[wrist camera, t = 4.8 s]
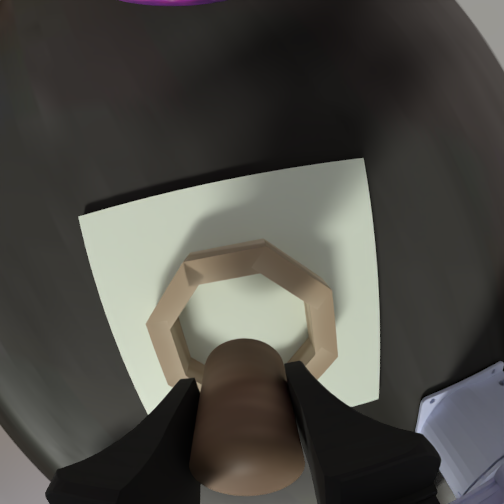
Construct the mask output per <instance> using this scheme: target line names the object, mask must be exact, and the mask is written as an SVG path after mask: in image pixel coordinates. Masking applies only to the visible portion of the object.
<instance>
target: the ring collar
mask: <svg viewBox="0 0 504 504" xmlns="http://www.w3.org/2000/svg"><path fill="white" fill-rule="evenodd" d="M259 273H261V274H262V275H264V276H265V277H267V278H268V279H270V280H271V281H273V282H275V283H276V284H278V285H279V286H281V287H282V288H284V289H285V290H287V291H288V292H290V293H292V294H293V295H295V296H296V297H298V298H299V299H301V300H303V301H304V308H305V315H306V322H307V329H308V338H307V339H306V340H305V342H304V343H303V344H302V345H301V347H300V348H299V349H298V350H297V351H296V353H295V354H294V355H293V356H292V357H291V358H290V360H289V361H288V362H287V363H290V362H294V361H299V360H300V361H301V362H303V364H304V365H305V367H306V368H307V369H308V370H309V372H310V373H311V374H312V375H313V376H314V377H315V378H316V379H317V380H318V379H319V378H320V377H321V376H322V374H323V373H324V372H325V371H326V370H327V369H328V368H329V367H330V365H331V364H332V363H333V362H334V361H335V360H336V359H337V357H338V349H337V337H336V325H335V314H334V304H333V295H332V290H331V288H330V287H329V286H328V285H327V283H326V282H325V281H324V280H323V279H322V278H321V277H320V276H318V275H317V274H315V273H314V272H312V271H311V270H309V269H308V268H307V267H305V266H304V265H302V264H301V263H299V262H298V261H296V260H295V259H293V258H292V257H290V256H289V255H287V254H286V253H284V252H283V251H281V250H280V249H278V248H277V247H276V246H274V245H273V244H271V243H270V242H268V241H267V240H265V239H264V238H263V239H258V240H253V241H247V242H242V243H237V244H232V245H227V246H221V247H216V248H211V249H206V250H201V251H196V252H191V253H189V255H188V256H187V257H186V259H185V260H184V261H183V263H182V264H181V266H180V268H179V269H178V271H177V272H176V274H175V276H174V277H173V279H172V281H171V282H170V284H169V285H168V287H167V289H166V290H165V292H164V294H163V295H162V297H161V299H160V300H159V302H158V304H157V305H156V307H155V309H154V310H153V312H152V314H151V315H150V317H149V319H148V321H147V322H146V327H147V330H148V332H149V335H150V338H151V341H152V344H153V347H154V350H155V352H156V355H157V358H158V360H159V363H160V366H161V368H162V371H163V373H164V376H165V379H166V381H167V384H168V385H169V386H171V387H174V386H175V384H176V383H177V382H178V381H179V380H180V379H186V378H195V380H196V383H197V386H198V388H199V391H201V385H202V379H203V373H204V368H205V365H204V364H202V363H200V362H199V361H197V360H195V359H193V358H192V357H191V356H190V353H189V350H188V346H187V343H186V340H185V337H184V334H183V330H182V327H181V324H180V320H179V317H178V316H179V315H180V313H181V312H182V310H183V309H184V307H185V305H186V304H187V302H188V301H189V299H190V298H191V296H192V295H193V293H194V292H195V290H196V289H197V287H198V286H199V285H200V284H205V283H211V282H216V281H222V280H227V279H233V278H238V277H243V276H249V275H254V274H259ZM284 368H285V367H284ZM285 373H286V372H285Z"/></svg>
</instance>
